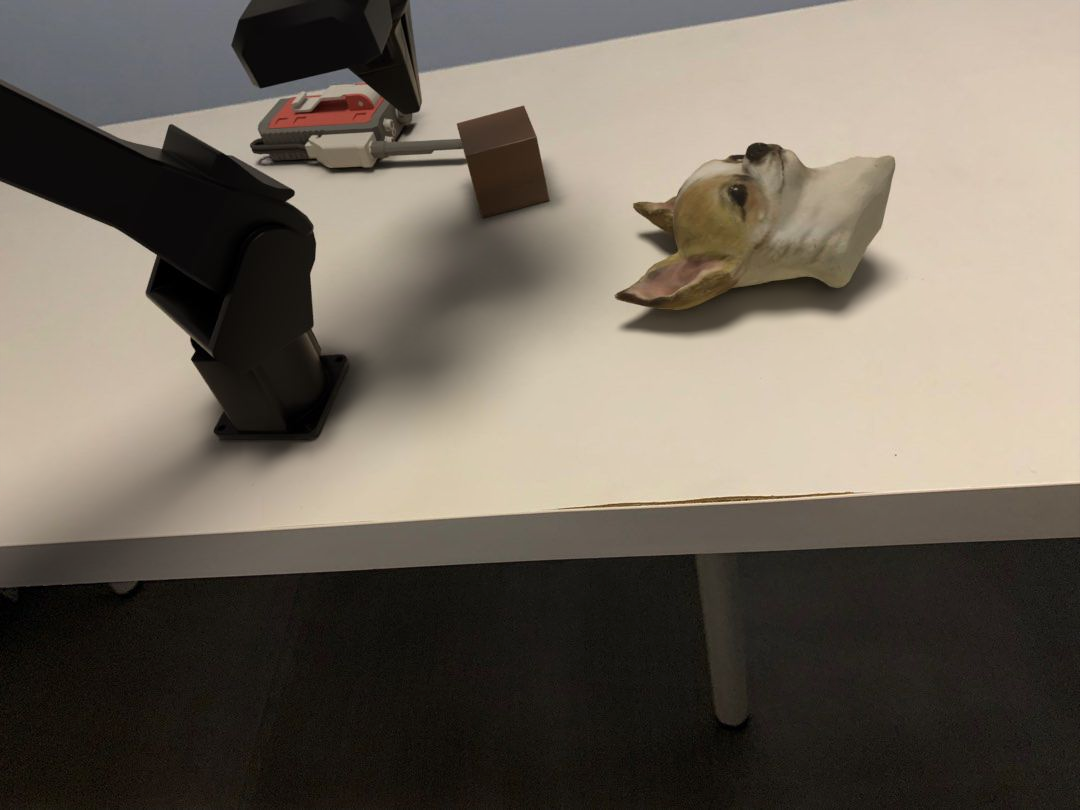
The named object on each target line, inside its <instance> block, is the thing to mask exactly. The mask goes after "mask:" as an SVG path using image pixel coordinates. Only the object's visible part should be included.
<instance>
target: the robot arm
mask: <svg viewBox="0 0 1080 810" xmlns="http://www.w3.org/2000/svg"><path fill="white" fill-rule="evenodd" d="M412 19H413V18H412V9H411V0H250V1H249V3H248V4H247V6H246V7H245V9H244V10H243V13H242V14H241V16H240V17H239V19H238V21H237V25H236V28H235V30H234V31H235V32H234V34H233V37H232V41H231V44H230V46H231V48H232V50H233V52H234V54H235V55H236V57H237V59H238V60H239V62H240V64H241V66H242V67H243V69H244V71H245V73H246V75H247V77H248V78H249V81H250V82H251V84H252V85H253V86H254V87H256V88H258V89H260V90H261V89H264V88H269V87H274V86H279V85H282V84H287V83H291V82H294V81H299V80H304V79H308V78H312V77H316V76H321V75H324V74H325V75H326V74H329V73H334V72H337V71H343V70H348V71H350V72H351V73H353V74H354V75H355V76H356V77H357V78H358V79H360V80H361V81H362V82H363V83H366V84H367V85H368V86H369V87H371V88H372V89H373V90H374V91H375V92H377V93H378V94H379V95H380V96H381V97H382V98H384V99H385V100H386V101H387V102H388V103H390V104H391V105H392V106H393V107H394V108H395V109H397V110H398V111H399V112H400V113H401V114H404V115H408V114H412V113H413V114H416V113H419V112H420V111H421V107H422V104H423V97H422V90H421V89H422V88H421V82H420V74H419V66H418V59H417V50H416V44H415V36H414V35H415V34H414V29H413V20H412ZM163 140H164V141H163V144H162V148H160V147H155V146H151V145H145V144H141V143H136V142H132V141H129V140H126V139H122V138H120V137H118V136H116V135H113V134H112V133H111V132H108V131H105V130H103V128H100V127H97V126H95V125H94V124H92V123H90V122H88V121H86V120H84V119H82V118H79V117H78V116H76V115H73V114H72V113H70V112H67V111H66V110H63V109H62V108H60V107H59V106H58V107H57V106H56V105H53V104H51V103H50V102H48V101H46V100H43V99H42V98H39V97H37V96H36V95H33V94H31V93H29V92H27V91H25V90H23V89H21V88H19V87H18V86H15V85H13V84H11V83H10V82H7V81H6V80H4V79H1V78H0V182H1V183H3V184H6V185H8V186H11V187H12V188H15V189H18V190H20V191H23V192H25V193H27V194H30V195H33V196H35V197H38V198H40V199H42V200H45V201H47V202H50V203H52V204H55V205H57V206H59V207H62V208H64V209H68V210H69V211H72V212H75V213H76V214H79V215H81V216H84V217H87V218H89V219H91V220H94V221H96V222H98V223H102V224H104V225H106V226H109V227H111V228H114V229H115V230H118V231H119V232H121V233H122V234H124V235H125V236H127V237H128V238H130V239H131V240H133V241H135V242H136V243H137V244H139V245H141V246H142V247H143V248H145V249H146V250H148V251H149V252H151V253H153V254H154V255H156V256H155V260H154V263H153V265H152V269H151V273H150V276H149V279H148V282H147V286H146V289H145V293H144V294H145V297H146V298H147V299H148V300H149V301H150V302H151V303H152V304H153V305H155V306H156V307H157V308H158V309H159V310H160V311H161V312H163V314H165V315H166V316H167V317H168V318H169V319H170V320H171V321H172V322H174V323H175V324H176V325H177V326H178V327H179V328H180V329H181V330H182V331H183V332H185V334H187V335H188V336H189V341H190V345H191V347H192V348H193V350H194V353H193V354H192V355H191V357H190V361H191V362H192V364H193V366H194V367H195V368H196V370H197V371H198V373H199V375H200V376H201V378H202V379H203V381H204V382H205V384H206V385H207V387H208V389H209V390H210V392H211V394H212V395H213V396H214V397H215V399H216V401H217V402H218V404H219V405H220V407H221V409H222V410H223V412H222V413H221V415H220V417H219V419H218V421H217V422H216V424H215V426H214V428H213V434H214V435H215V437H216V438H217V439H219V440H310V439H313V438H315V437H317V436H318V434H319V432H320V431H321V428H322V426H323V425H324V422H325V420H326V418H327V414H328V412H329V411H330V409H331V405H332V404H333V401H334V399H335V396H336V394H337V392H338V390H339V388H340V386H341V383H342V381H343V379H344V377H345V375H346V372H347V370H348V367H349V365H350V361H349V358H348V357H347V355H345V354H341V353H340V354H323V353H322V347H321V345H320V343H319V342H318V339H317V337H316V335H315V333H314V331H313V328H314V324H315V321H314V308H313V307H314V306H313V294H312V291H313V290H312V280H311V273H312V270H313V267H314V265H315V262H316V255H317V241H316V236H315V231H314V229H315V226H314V224H313V222H312V221H311V220H310V218H309V217H308V216H307V214H305V213H304V212H303V211H301V210H300V209H299V208H298V207H296V206H295V205H293V204H292V203H290V202H288V201H289V200H290V199H292V198H294V196H295V195H296V192H295V190H294V189H293V188H291V187H289V186H287V185H286V184H284V183H282V182H280V181H279V180H277V179H275V178H273V177H272V176H269V175H268V174H266V173H264V172H262V171H261V170H259V169H258V168H255V167H254V166H252V165H251V164H249V163H247V162H245V161H244V160H242V159H239V158H238V157H236V156H234V155H231V154H226V153H224V152H222V151H220V150H219V149H217V148H216V147H213V146H211V145H210V144H208V143H207V142H205V141H203V140H201V139H199V138H198V137H196V136H194V135H192V134H191V133H189V132H187V131H186V130H183V129H182V128H180V127H179V126H177V125H175V124H173V123H170V124H168V126H167V130H166V134H165V137H164V139H163Z"/></svg>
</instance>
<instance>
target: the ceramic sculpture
mask: <svg viewBox="0 0 1080 810" xmlns="http://www.w3.org/2000/svg"><path fill="white" fill-rule="evenodd" d="M895 170H896V160H895V156H894V155H891V154H889V155H888V154H887V155H883V156H879V157H873V156H859V155H857V156H853V157H849V158H847V159H845V160H841V161H837V162H834V163H831V164H828V165H823V166H819V167H807V166H806V165H805V164H804V163H803V162H802V161H801V159H800V158H799V156H798V155H797V153H795V152H794V151H793V150H791V149H788V148H783V147H782V146H781V145H779V144H778V143H765V142H753V143H751V144H750V145H748V146H747V148H746V151H745V153H744V154H731V155H729V156H727V157H726V158H724V159H718V158H713V159H711V160H708V161H706V162H704V163H702V164H701V165H700V166H699V167H698V168H697V169H695V171H693V172H692V173H691V174H690V175H689V176H688V177H687V178H686V179H685V180H684V182H683V183H682V185H681V186H680V187H679V189H678V191H677V194H676V195H675V196H673V197H671V198H669V199H668V200H666V201H665V202H654V201H653V202H651V201H637V202H633V204H632V208H633V209H634V210H635V212H636V213H638V214H639V215H641V216H642V217H643V218H644V219H646V220H647V221H649V222H650V223H651V224H652V225H654V226H655V227H657V228H659V229H660V230H662V231H663V232H665V233H667V234H671V235H674V240H675V245H676V248H677V252H675V253H674V254H670V255H669V256H668V257H667V258H665V259H662V260H661V261H658V262H656V263H654V264H653V265H651V266H650V267H649V268H648V269H647V271H646V272H645V273H644V274H643V275H642V276H641V277H640V278H639V279H638V280H637V281H636V282H634V283H633V284H632V285H630V286H629V287H627V288H625V289H622V290H620V291H618V292H616V293H615V294H614V295H613V296H614V299H616V301H620V302H625V303H629V304H633V305H637V306H640V307H641V306H642V307H644V308H652V309H661V310H676V311H677V310H679V311H680V310H687V309H690V308H694V307H696V306H698V305H700V304H701V305H702V304H703V303H706V302H707V301H709V300H711V299H713V298H715V297H718V296H719V295H723V293H727V292H728V291H730V290H731V289H735V288H736V289H737V288H740V287H748V286H754V285H755V286H756V285H761V284H765V283H770V282H774V281H775V282H776V281H783V280H791V279H796V278H805V277H808V278H809V277H810V278H813V279H817V280H819V281H820V282H823V283H824V284H825V285H826V286H828V287H830V288H836V289H839V288H840V289H841V288H842V287H845V286H846V285H847V284H849V282H850V281H851V279H852V277H853V275H854V273H855V271H856V269H857V268H858V265H859V264H860V262H861V261H862V258H863V257H864V254H865V253H866V250H867V248H869V246H870V244H871V243H872V241H873V240H874V239H875V237H877V235H878V233H879V231H880V230H881V229H882V226H883V223H884V218H885V214H886V209H887V206H888V200H889V198H890V193H891V188H892V183H893V177H894V175H895Z"/></svg>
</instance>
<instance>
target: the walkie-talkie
mask: <svg viewBox="0 0 1080 810" xmlns="http://www.w3.org/2000/svg"><path fill="white" fill-rule="evenodd" d="M413 114H414V113H412V114H408V115H404V114H401V113H400V112H399V111H398V110H397V109H395V108H394V107H393V106H392V105H391V104H390V103H388V102H387V101H386V100H385V99H384V98H382V97H381V96H380V95H379V94H378V93H377V92H375V91H374V90H373V89H372V88H371V87H369V86H368V85H367V84H366V83H365V82H359V83H355V84H351V83H346V84H331V85H329V87H328V88H327V89H326V90H325V91H324V92H323V93H322V94H315V95H308V94H307V91H303V90H302V91H300V93H299V94H298V95H297V96H292V97H285V98H280V99H278V100H277V102H276V103H275V104H274V105H273V106H272V108H271V109H269V111H268V112H267V113H266V114H265V116H264V117H263V118H262V119H260V121H259V123H258V124H257V131H258V133H259V135H260V138H257V139H254V140H253V141H252V142H250V144H249V148H250V149H251V153H253V154H255V155H269V157H270V158H271V159H272V160H273V161H294V160H314V159H316V161H318V162H319V163H320V164H322V165H324V166H325V167H327V168H329V169H333V168H357V167H362V168H373V167H374V165H375V164H376V162H377V160H378V159H388V158H389V157H395V156H396V157H397V156H414V155H415V156H417V155H418V156H419V155H420V156H421V155H432V154H433V153H434V152H436V151H454V150H455V151H456V150H463V146H462V142H461V139H460V138H448V139H430V140H429V139H427V140H411V141H409V140H407V141H396V139H397V138H398V136H399V135H400V133H401V132H402V130H403V128H404V127H405V126H408V125H411V123H412V122H413Z"/></svg>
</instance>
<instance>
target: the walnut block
mask: <svg viewBox="0 0 1080 810" xmlns="http://www.w3.org/2000/svg"><path fill="white" fill-rule="evenodd" d="M456 127H457V130H458V131H457V132H458V135H459V139H461V142H462V146H463V149H462V150H463V155H464V157H465V161H466V164H467V168H468V172H469V176H470V180H471V183H472V187H473V190H474V194H475V198H476V202H477V205H478V209H479V212H480V216H481V219H484V218H488V217H492V216H496V215H500V214H503V213H507V212H511V211H514V210H519V209H522V208H526V207H530V206H533V205H538V204H540V203H541V204H542V203H545V202H548V201H550V195H549V189H548V186H547V185H548V184H547V180H546V175H545V170H544V165H543V161H542V156H541V150H540V146H539V140H538V136H537V134H536V131H535V129H534V126H533V124H532V122H531V118H530V116H529V114H528V111H527V109H526V106H525V105H520V106H516V107H513V108H509V109H505V110H502V111H497V112H494V113H489V114H486V115H482V116H479V117H475V118H471V119H468V120H467V119H466V120H464V121H459V122H457V123H456Z"/></svg>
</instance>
